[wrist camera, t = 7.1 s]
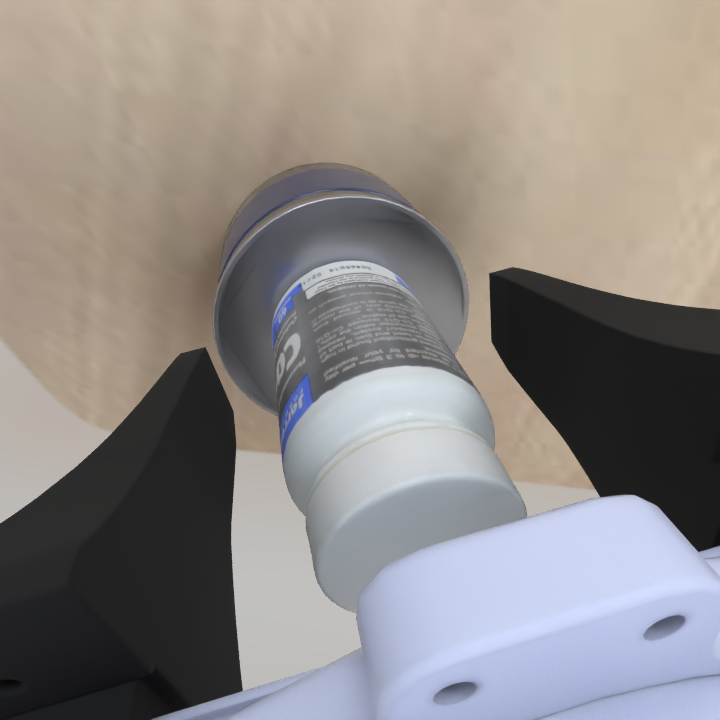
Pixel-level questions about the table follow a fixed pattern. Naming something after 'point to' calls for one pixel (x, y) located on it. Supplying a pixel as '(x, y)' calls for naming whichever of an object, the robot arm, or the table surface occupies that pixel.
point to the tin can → (323, 260)
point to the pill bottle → (378, 427)
